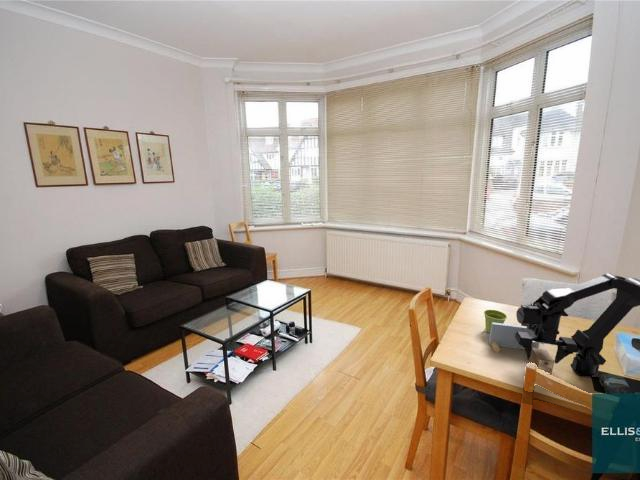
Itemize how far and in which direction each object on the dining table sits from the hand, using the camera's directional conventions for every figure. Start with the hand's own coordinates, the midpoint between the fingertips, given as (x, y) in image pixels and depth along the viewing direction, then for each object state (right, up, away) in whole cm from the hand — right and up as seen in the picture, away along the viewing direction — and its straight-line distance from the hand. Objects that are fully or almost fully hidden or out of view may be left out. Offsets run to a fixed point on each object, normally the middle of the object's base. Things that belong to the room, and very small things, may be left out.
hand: (541, 361), depth 116 cm
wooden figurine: (+13, +4, +26) cm, 29 cm away
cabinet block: (0, -3, +1) cm, 3 cm away
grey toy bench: (-3, 0, +11) cm, 12 cm away
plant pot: (-4, +4, +26) cm, 26 cm away
